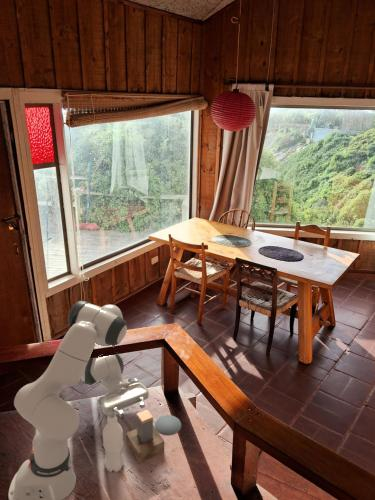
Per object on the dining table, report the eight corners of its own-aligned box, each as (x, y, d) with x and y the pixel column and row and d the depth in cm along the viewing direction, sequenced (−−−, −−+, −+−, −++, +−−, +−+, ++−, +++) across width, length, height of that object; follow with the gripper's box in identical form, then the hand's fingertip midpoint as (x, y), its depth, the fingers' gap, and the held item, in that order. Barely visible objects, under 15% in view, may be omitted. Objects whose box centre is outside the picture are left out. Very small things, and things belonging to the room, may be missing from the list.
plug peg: (142, 453, 157) (142, 421, 151) (137, 445, 161) (136, 413, 155) (152, 448, 160) (152, 416, 154) (147, 440, 163) (147, 409, 157)
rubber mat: (154, 437, 166) (154, 435, 165) (155, 417, 176) (155, 415, 176) (181, 437, 166) (181, 435, 166) (180, 416, 176) (180, 415, 176)
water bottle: (103, 475, 149) (99, 422, 140) (106, 458, 156) (103, 407, 146) (122, 475, 149) (121, 422, 140) (125, 458, 156) (123, 407, 147)
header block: (138, 465, 153) (138, 453, 151) (126, 444, 162) (126, 433, 160) (164, 452, 159) (164, 441, 157) (151, 433, 168) (151, 422, 165)
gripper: (95, 393, 169) (108, 414, 158) (139, 376, 179) (154, 395, 169) (96, 405, 171) (108, 426, 161) (140, 388, 182) (154, 407, 171)
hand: (132, 410), depth 165 cm, fingers open, 8 cm apart
